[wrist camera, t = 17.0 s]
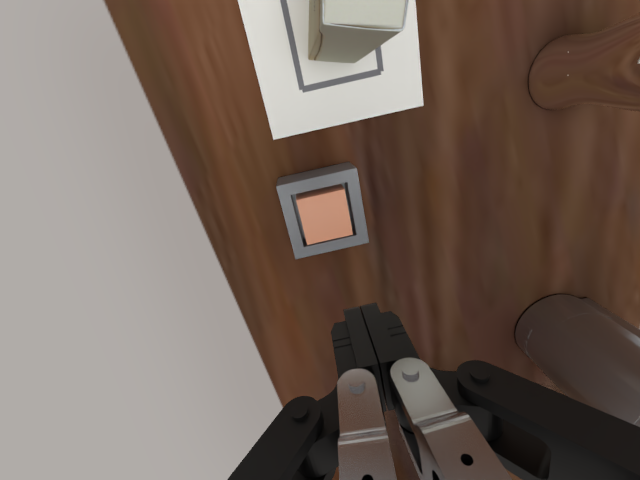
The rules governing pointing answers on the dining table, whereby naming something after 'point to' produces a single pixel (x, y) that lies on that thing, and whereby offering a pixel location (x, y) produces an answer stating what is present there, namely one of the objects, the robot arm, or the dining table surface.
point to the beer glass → (590, 69)
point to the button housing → (315, 180)
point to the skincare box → (352, 27)
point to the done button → (324, 214)
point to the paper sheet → (326, 71)
